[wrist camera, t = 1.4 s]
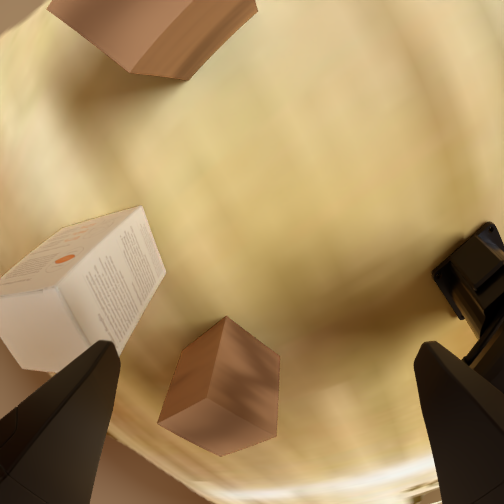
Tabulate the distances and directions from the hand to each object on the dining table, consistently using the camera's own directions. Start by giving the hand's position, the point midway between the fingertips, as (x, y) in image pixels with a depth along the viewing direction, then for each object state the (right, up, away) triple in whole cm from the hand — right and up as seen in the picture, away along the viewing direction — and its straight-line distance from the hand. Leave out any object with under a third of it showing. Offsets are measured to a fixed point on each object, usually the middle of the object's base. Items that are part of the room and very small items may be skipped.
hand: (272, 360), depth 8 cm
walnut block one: (-2, -6, +18) cm, 19 cm away
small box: (-11, +3, +14) cm, 18 cm away
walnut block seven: (-4, +17, +6) cm, 19 cm away
